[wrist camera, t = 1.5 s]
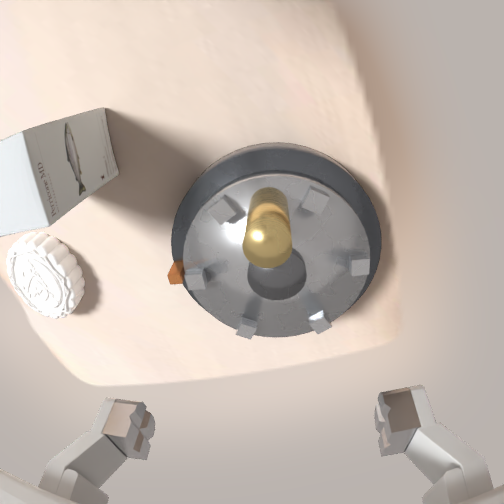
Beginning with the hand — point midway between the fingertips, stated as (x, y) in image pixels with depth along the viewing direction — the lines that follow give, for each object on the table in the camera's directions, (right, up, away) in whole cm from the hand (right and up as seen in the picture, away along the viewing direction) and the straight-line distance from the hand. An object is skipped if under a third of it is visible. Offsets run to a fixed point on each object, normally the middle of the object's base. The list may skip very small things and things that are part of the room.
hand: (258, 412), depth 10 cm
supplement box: (-17, +16, +19) cm, 30 cm away
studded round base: (+2, +5, +20) cm, 21 cm away
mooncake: (-27, +3, +28) cm, 39 cm away
